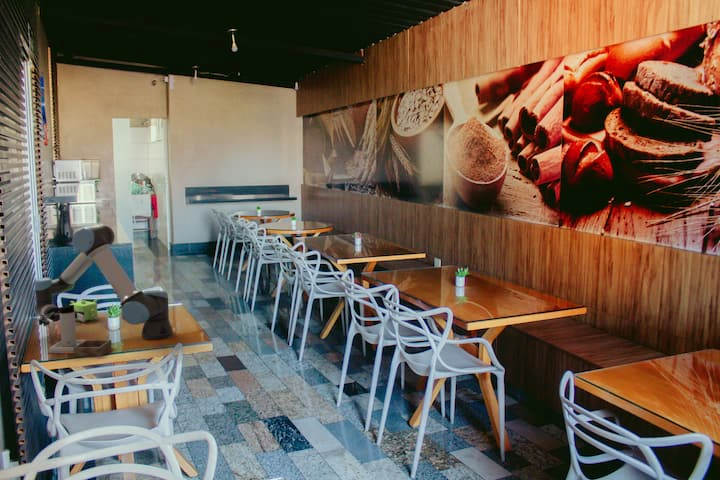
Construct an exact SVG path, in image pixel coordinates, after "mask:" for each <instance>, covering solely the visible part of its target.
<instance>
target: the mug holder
mask: <svg viewBox="0 0 720 480" xmlns="http://www.w3.org/2000/svg"><path fill="white" fill-rule="evenodd" d="M84 340H85V341H83V342H82V343H80V344H79V345H77V346H76V347H74V353H73V357H74V358H75V357H76V358H77V357H78V358H79V357H81V358H82V357H84V358H85V357H88V358H89V357H91V358H92V357H94V358H95V357H98V358H99V357H103V356H104V355H106V354H107V352H109V351H110V350H111V349H113V347H112V339H84Z"/></svg>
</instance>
